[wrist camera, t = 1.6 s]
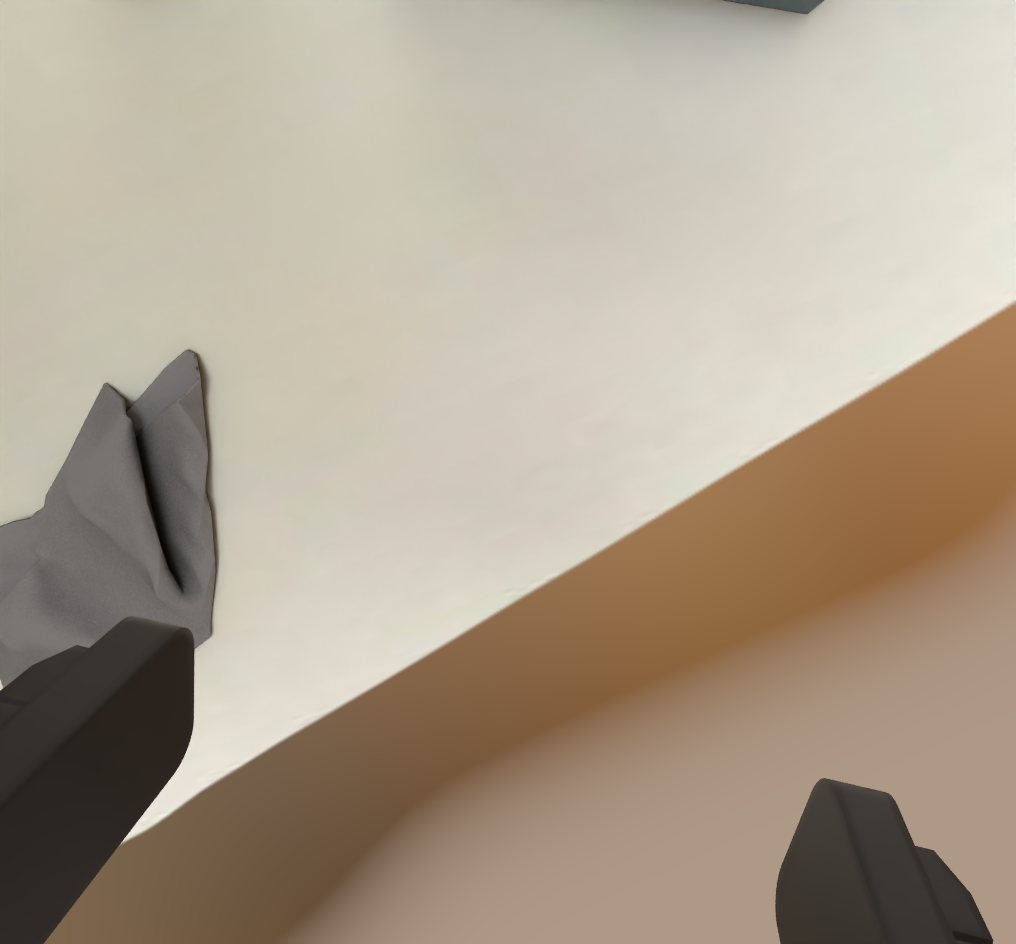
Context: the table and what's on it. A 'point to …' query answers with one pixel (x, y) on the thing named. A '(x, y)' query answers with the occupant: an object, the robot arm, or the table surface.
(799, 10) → the teal divided tray
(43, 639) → the cloth
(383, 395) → the table surface
